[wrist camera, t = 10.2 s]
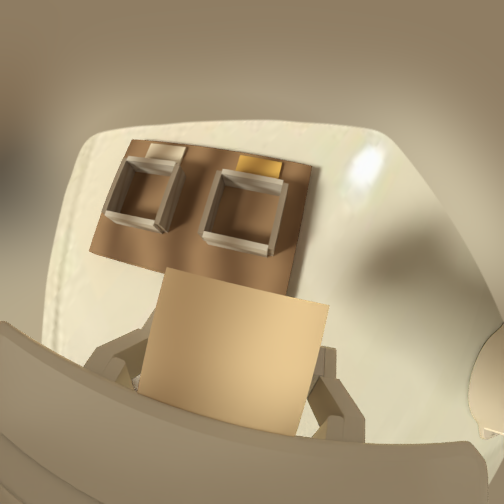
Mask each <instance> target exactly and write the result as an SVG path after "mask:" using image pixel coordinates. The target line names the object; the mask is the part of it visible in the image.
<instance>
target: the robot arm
mask: <svg viewBox="0 0 504 504" xmlns="http://www.w3.org/2000/svg"><path fill="white" fill-rule="evenodd" d="M155 309H156V308H155ZM155 309H154V311H153V312H152V314H151V315H150V317H149V318H148V320H147V321H146V323H145V324H144V326H143V327H142V329H136V330H134V331H132V332H130V333H128V334H126V335H123V336H121V337H119V338H117V339H115V340H112V341H110V342H108V343H106V344H104V345H102V346H99V347H97V348H96V349H95V351H94V352H93V354H92V355H91V357H90V358H89V359H88V361H87V362H86V364H85V365H84V367H82V366H80V365H78V364H76V363H74V362H72V361H71V360H69V359H67V358H65V357H63V356H61V355H59V354H58V353H56V352H54V351H52V350H51V349H49V348H47V347H45V346H44V345H42V344H40V343H39V342H37V341H35V340H34V339H32V338H31V337H29V336H27V335H26V334H24V333H23V332H21V331H20V330H18V329H17V328H15V327H14V326H12V325H11V324H9V323H7V322H5V321H0V504H488V473H487V465H486V462H485V460H484V458H483V457H482V455H481V454H480V453H479V452H478V450H477V449H476V448H475V447H474V446H473V445H472V444H471V443H470V442H468V441H457V442H445V443H428V444H375V443H365V418H364V416H363V414H362V413H361V411H360V410H359V408H358V407H357V405H356V404H355V402H354V401H353V399H352V398H351V396H350V395H349V393H348V392H347V390H346V389H345V387H344V386H343V384H342V383H341V381H340V380H339V379H336V348H331V347H325V346H320V349H319V353H318V357H317V361H316V365H315V369H314V373H313V377H312V380H311V384H310V388H309V391H308V395H307V400H308V402H309V405H310V407H311V409H312V411H313V413H314V415H315V418H316V420H317V422H318V424H319V426H320V428H319V429H318V430H317V432H316V433H315V434H314V435H313V436H312V437H311V438H309V437H303V436H296V435H295V437H292V436H286V435H280V434H275V433H270V432H265V431H260V430H255V429H251V428H246V427H242V426H238V425H234V424H230V423H226V422H222V421H219V420H215V419H211V418H208V417H205V416H201V415H198V414H195V413H191V412H188V411H185V410H182V409H179V408H176V407H173V406H170V405H167V404H165V403H162V402H159V401H156V400H154V399H151V398H148V397H146V396H143V395H141V394H138V393H137V391H135V390H134V387H133V384H132V382H131V380H132V379H133V378H135V377H136V376H138V375H139V374H141V370H142V366H143V361H144V356H145V352H146V347H147V343H148V338H149V334H150V330H151V325H152V321H153V317H154V313H155ZM468 399H469V407H470V411H471V414H472V416H473V417H474V419H475V420H476V421H477V423H478V425H479V433H480V437H481V438H482V439H490V438H492V437H494V436H497V435H499V434H502V435H504V323H503V325H502V327H501V328H500V329H499V330H498V331H496V332H495V333H494V334H493V335H492V336H491V337H490V338H489V339H488V340H487V342H486V343H485V345H484V346H483V348H482V349H481V351H480V353H479V355H478V357H477V359H476V362H475V364H474V367H473V371H472V374H471V378H470V384H469V394H468Z"/></svg>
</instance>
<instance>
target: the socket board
mask: <svg viewBox="0 0 504 504" xmlns="http://www.w3.org/2000/svg"><path fill="white" fill-rule="evenodd" d="M311 169H312V166H309V165H304V164H299V163H295V162H290V161H285V160H280V159H275V158H270V157H264V156H259V155H253V154H247V153H241V152H235V151H229V150H222V149H216V148H208V147H201V146H193V145H185V144H176V143H167V142H157V141H146V140H133V139H132V141H131V143H130V145H129V147H128V149H127V152H126V154H125V156H124V158H123V159H122V162H121V164H120V166H119V169H118V171H117V173H116V176H115V178H114V180H113V183H112V185H111V188H110V190H109V193H108V196H107V198H106V201H105V204H104V206H103V209H102V213H101V216H100V219H99V222H98V225H97V228H96V231H95V234H94V237H93V240H92V243H91V246H90V249H89V252H92V253H94V254H97V255H100V256H104V257H107V258H110V259H114V260H117V261H121V262H124V263H127V264H131V265H135V266H138V267H142V268H145V269H149V270H152V271H156V272H160V273H163V274H165V271H166V268H167V267H169V268H173V269H176V270H180V271H184V272H188V273H192V274H196V275H200V276H204V277H208V278H212V279H216V280H220V281H224V282H228V283H232V284H237V285H241V286H245V287H249V288H253V289H258V290H262V291H266V292H271V293H275V294H280V295H284V296H286V292H287V287H288V283H289V278H290V274H291V269H292V264H293V260H294V255H295V250H296V246H297V241H298V236H299V231H300V226H301V221H302V216H303V211H304V206H305V201H306V196H307V191H308V185H309V180H310V174H311Z"/></svg>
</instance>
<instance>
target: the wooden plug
mask: <svg viewBox="0 0 504 504" xmlns="http://www.w3.org/2000/svg"><path fill="white" fill-rule="evenodd" d="M328 310H329V305H325V304H321V303H316V302H311V301H307V300H302V299H298V298H293V297H289V296H284V295H280V294H275V293H271V292H266V291H262V290H258V289H253V288H249V287H245V286H241V285H237V284H232V283H228V282H224V281H220V280H216V279H212V278H208V277H204V276H200V275H196V274H192V273H188V272H184V271H180V270H176V269H173V268H169V267H167V268H166V271H165V275H164V278H163V282H162V286H161V290H160V293H159V297H158V301H157V305H156V309H155V313H154V317H153V321H152V325H151V330H150V334H149V338H148V343H147V347H146V352H145V356H144V361H143V366H142V370H141V375H140V380H139V386H138V391H137V393H138V394H141V395H143V396H146V397H148V398H151V399H154V400H156V401H159V402H162V403H165V404H167V405H170V406H173V407H176V408H179V409H182V410H185V411H188V412H191V413H195V414H198V415H201V416H205V417H208V418H211V419H215V420H219V421H222V422H226V423H230V424H234V425H238V426H242V427H246V428H251V429H255V430H260V431H265V432H270V433H275V434H280V435H286V436H292V437H295V435H296V432H297V428H298V425H299V422H300V419H301V415H302V412H303V409H304V405H305V402H306V398H307V395H308V391H309V388H310V384H311V380H312V377H313V373H314V369H315V365H316V361H317V357H318V353H319V349H320V345H321V341H322V337H323V332H324V328H325V324H326V319H327V315H328Z"/></svg>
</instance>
